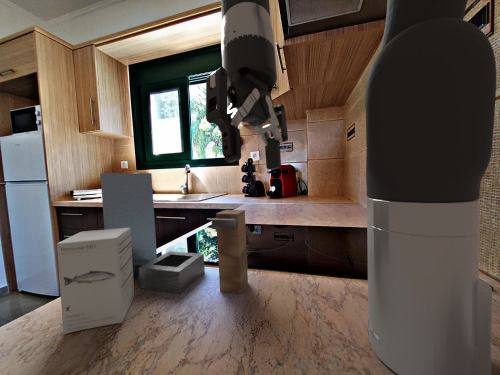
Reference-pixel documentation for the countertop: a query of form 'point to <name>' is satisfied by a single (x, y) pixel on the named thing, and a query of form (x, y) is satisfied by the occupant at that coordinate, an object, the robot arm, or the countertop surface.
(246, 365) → the countertop surface
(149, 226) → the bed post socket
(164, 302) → the countertop surface
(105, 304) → the supplement box
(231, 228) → the tan post
